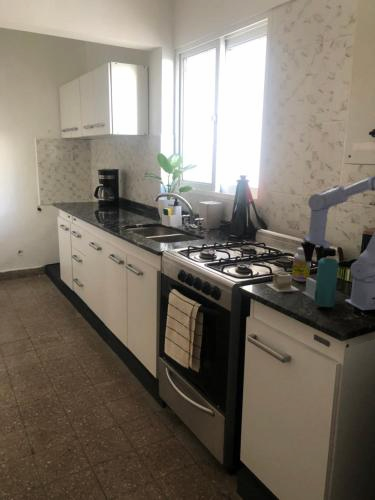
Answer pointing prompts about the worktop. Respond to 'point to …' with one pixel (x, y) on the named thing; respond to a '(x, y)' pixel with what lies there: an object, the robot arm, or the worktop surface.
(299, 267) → the supplement bottle
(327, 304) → the beverage bottle
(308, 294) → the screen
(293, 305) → the worktop surface
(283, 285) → the letter cube
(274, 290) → the tile
